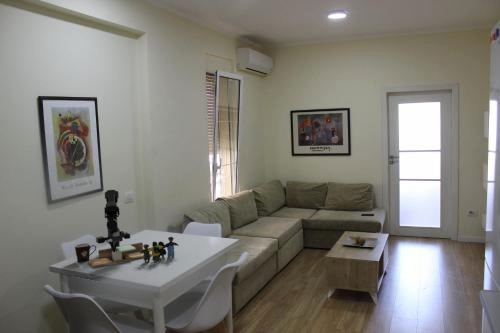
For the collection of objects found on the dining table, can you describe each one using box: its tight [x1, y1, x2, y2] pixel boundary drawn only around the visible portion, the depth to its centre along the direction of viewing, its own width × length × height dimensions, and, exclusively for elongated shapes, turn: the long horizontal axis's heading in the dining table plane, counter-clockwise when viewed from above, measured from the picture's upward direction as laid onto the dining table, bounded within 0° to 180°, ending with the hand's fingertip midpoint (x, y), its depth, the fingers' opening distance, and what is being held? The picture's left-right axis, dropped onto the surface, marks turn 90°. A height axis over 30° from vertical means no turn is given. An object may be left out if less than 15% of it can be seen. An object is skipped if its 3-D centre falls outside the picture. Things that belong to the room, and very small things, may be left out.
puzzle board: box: [88, 242, 153, 269], centre depth 251 cm, size 13×34×7 cm, turn 124°
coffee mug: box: [74, 242, 97, 263], centre depth 252 cm, size 12×9×10 cm
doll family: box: [140, 236, 179, 264], centre depth 249 cm, size 23×9×13 cm, turn 139°
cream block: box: [112, 251, 122, 261], centre depth 250 cm, size 4×4×6 cm
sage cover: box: [115, 244, 136, 253], centre depth 252 cm, size 10×11×2 cm
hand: (114, 252), depth 246 cm, fingers closed
